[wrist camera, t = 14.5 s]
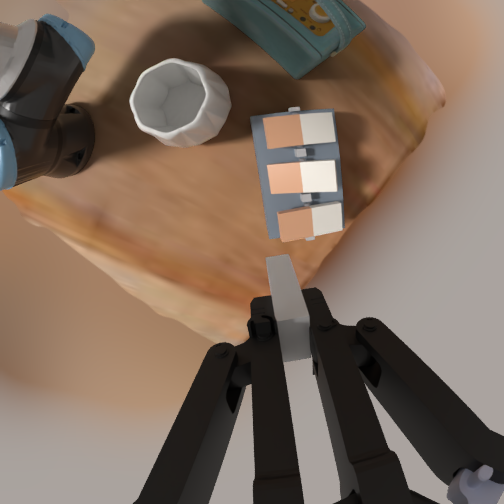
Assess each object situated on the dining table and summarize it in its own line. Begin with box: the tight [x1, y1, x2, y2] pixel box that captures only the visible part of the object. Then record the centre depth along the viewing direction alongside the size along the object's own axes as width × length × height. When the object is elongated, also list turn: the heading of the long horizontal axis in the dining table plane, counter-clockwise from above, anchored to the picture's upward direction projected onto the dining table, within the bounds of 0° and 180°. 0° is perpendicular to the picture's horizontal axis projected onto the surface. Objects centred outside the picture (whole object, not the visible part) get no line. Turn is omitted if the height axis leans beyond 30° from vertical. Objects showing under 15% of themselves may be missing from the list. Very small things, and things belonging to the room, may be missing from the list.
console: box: [250, 107, 345, 241], centre depth 43 cm, size 13×21×8 cm, turn 9°
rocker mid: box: [267, 158, 338, 194], centre depth 39 cm, size 10×5×2 cm, turn 99°
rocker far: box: [277, 201, 342, 243], centre depth 42 cm, size 10×5×2 cm, turn 99°
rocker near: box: [263, 112, 336, 149], centre depth 36 cm, size 10×5×2 cm, turn 99°
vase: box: [129, 58, 232, 148], centre depth 35 cm, size 14×14×15 cm
